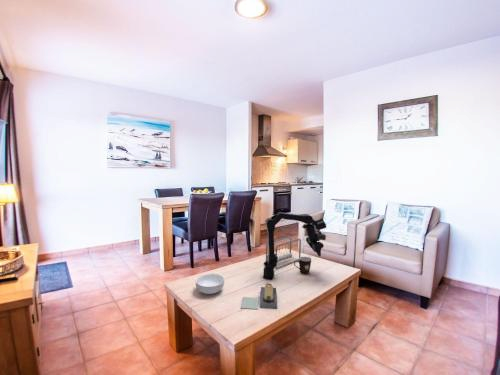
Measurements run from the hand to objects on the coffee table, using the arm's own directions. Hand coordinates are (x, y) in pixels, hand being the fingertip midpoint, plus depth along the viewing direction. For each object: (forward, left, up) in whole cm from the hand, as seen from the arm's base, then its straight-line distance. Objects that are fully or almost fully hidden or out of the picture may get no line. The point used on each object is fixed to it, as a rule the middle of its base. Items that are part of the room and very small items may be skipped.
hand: (317, 253), depth 168 cm
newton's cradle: (-26, +16, -16) cm, 35 cm away
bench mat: (-30, -49, -16) cm, 60 cm away
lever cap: (-21, -46, -16) cm, 53 cm away
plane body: (-22, -41, -16) cm, 49 cm away
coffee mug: (-10, +3, -16) cm, 19 cm away
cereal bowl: (-57, -45, -16) cm, 74 cm away
